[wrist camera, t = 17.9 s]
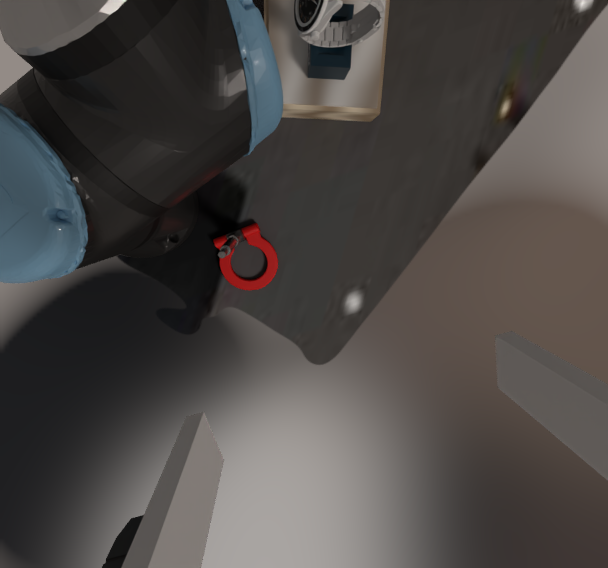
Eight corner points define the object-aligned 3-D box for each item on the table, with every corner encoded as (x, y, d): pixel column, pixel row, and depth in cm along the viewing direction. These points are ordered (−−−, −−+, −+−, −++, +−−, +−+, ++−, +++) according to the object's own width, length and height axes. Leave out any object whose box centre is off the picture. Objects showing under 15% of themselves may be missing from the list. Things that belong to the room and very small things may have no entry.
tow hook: (285, 276, 44) (262, 219, 41) (289, 310, 32) (257, 232, 29) (235, 295, 44) (208, 239, 41) (220, 336, 32) (180, 262, 29)
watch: (290, 18, 31) (296, -75, 21) (362, 24, 32) (403, -64, 21) (290, 78, 33) (296, 19, 22) (359, 81, 34) (395, 26, 23)
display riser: (266, 116, 37) (265, 106, 33) (265, 3, 34) (263, -22, 30) (370, 121, 38) (380, 112, 35) (379, 13, 35) (391, -10, 31)
